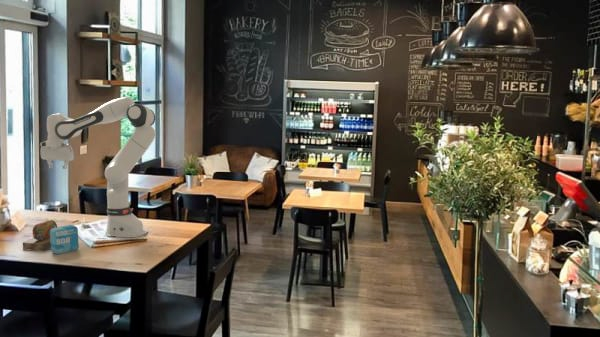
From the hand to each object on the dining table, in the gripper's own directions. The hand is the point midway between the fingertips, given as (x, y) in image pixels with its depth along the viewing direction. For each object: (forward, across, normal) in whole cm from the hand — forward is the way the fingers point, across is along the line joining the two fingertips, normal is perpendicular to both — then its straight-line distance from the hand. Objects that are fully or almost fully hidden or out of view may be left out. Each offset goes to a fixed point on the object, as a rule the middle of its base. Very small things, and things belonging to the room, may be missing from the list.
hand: (58, 168), depth 332 cm
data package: (+34, -33, +34) cm, 59 cm away
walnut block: (+35, -16, +28) cm, 47 cm away
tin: (+31, -15, +28) cm, 45 cm away
